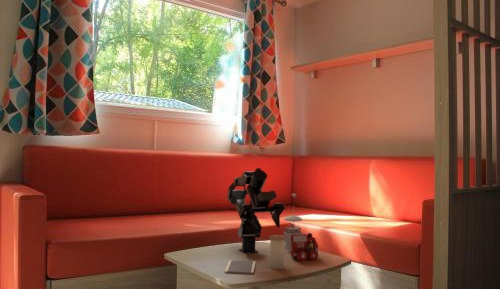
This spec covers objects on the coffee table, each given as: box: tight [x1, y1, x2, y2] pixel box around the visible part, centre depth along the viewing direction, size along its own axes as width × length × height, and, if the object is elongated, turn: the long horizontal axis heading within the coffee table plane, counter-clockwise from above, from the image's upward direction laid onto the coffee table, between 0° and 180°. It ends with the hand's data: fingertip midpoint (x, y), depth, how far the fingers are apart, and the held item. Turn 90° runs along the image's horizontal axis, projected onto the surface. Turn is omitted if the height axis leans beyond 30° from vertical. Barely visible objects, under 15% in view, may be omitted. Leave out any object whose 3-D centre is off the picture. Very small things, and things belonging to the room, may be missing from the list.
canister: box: [269, 234, 286, 270], centre depth 161 cm, size 6×6×12 cm
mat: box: [224, 259, 256, 275], centre depth 159 cm, size 15×10×1 cm, turn 176°
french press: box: [283, 193, 303, 254], centre depth 189 cm, size 10×12×25 cm
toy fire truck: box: [290, 232, 319, 262], centre depth 175 cm, size 7×12×10 cm, turn 113°
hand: (268, 227), depth 168 cm, fingers open, 9 cm apart
